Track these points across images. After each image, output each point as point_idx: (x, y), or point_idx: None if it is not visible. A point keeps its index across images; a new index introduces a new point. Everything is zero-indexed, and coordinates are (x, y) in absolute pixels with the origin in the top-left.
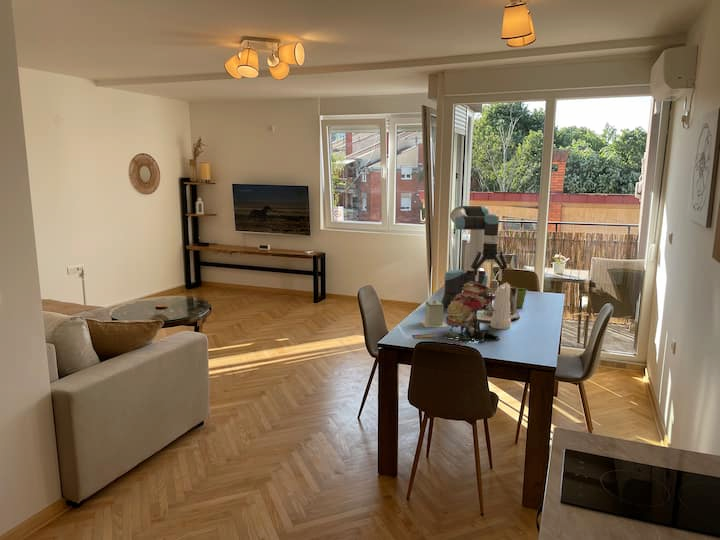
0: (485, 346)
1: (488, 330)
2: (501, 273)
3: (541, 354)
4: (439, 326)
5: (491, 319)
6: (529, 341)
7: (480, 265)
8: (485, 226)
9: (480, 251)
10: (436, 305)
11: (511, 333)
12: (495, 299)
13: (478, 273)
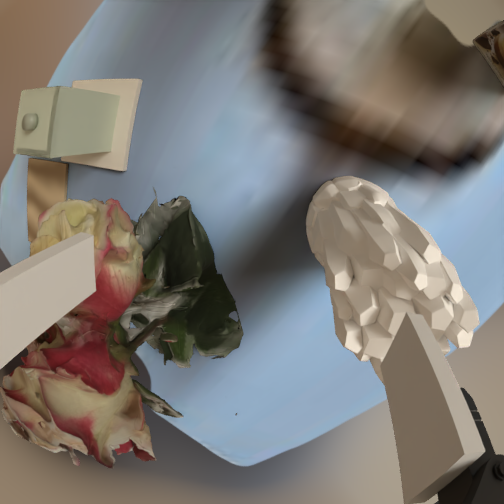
0: (165, 367)
1: (185, 356)
2: (408, 443)
3: (268, 444)
4: (96, 163)
5: (309, 212)
6: (316, 388)
7: None
8: None
9: None
10: (32, 155)
11: (324, 313)
12: (324, 261)
13: (29, 341)
